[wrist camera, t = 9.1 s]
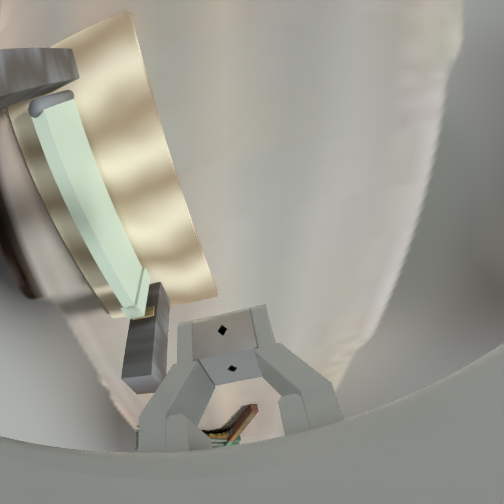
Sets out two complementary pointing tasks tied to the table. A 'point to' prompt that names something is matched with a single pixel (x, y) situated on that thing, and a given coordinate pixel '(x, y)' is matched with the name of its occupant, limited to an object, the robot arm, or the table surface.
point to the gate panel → (89, 198)
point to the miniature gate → (233, 434)
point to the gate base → (115, 176)
